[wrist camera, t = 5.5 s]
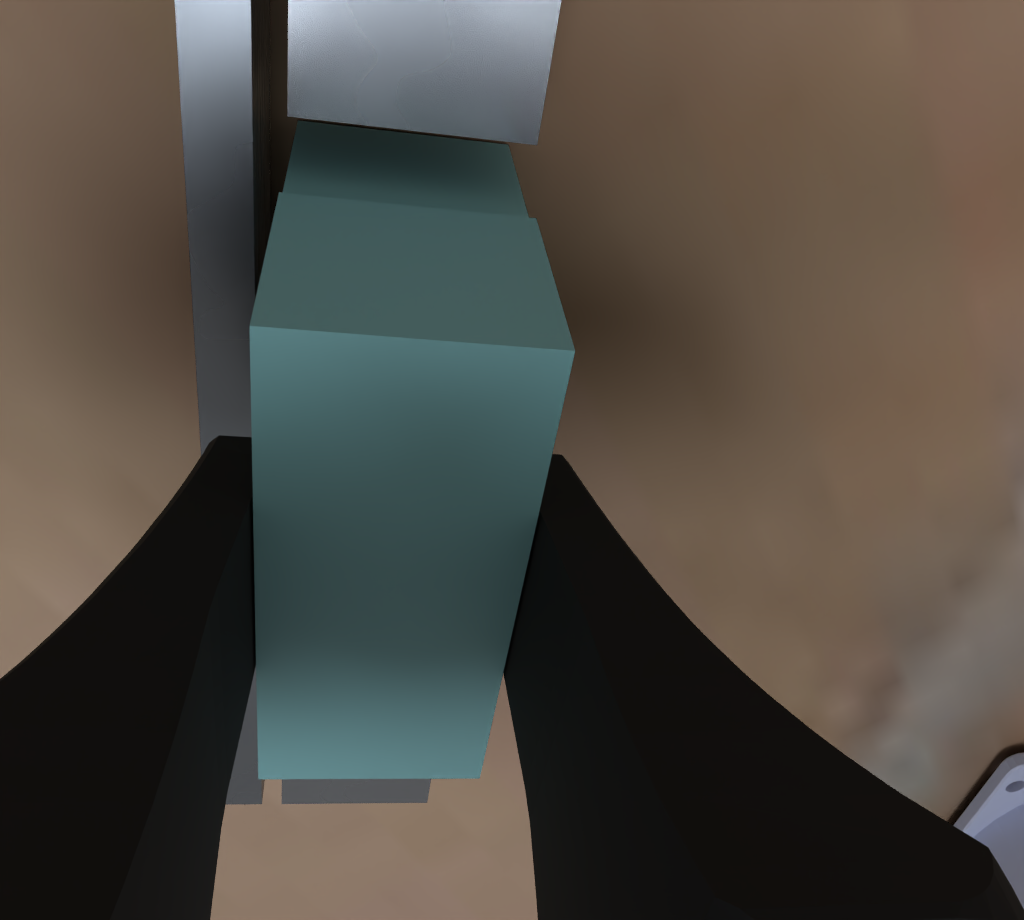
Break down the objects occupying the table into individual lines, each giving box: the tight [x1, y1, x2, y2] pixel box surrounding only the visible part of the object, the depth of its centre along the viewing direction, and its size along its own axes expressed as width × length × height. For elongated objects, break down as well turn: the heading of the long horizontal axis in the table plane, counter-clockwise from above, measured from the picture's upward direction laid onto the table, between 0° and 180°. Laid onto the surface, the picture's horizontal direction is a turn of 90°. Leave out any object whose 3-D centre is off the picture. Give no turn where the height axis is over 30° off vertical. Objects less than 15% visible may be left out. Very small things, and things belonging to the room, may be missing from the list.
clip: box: [250, 121, 575, 779], centre depth 13 cm, size 7×3×6 cm, turn 171°
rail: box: [175, 0, 561, 804], centre depth 15 cm, size 20×4×2 cm, turn 171°
